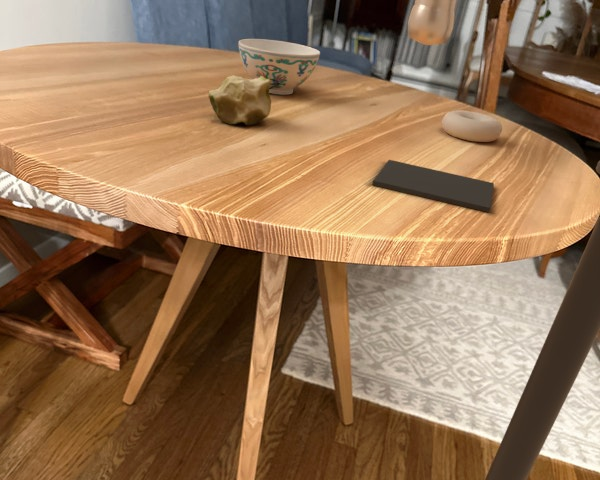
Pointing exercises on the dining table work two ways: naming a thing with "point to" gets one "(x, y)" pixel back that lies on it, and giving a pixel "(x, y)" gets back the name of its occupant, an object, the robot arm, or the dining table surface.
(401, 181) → the mat
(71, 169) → the dining table surface
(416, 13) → the plastic bottle
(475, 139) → the donut
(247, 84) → the fruit
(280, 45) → the chinaware
